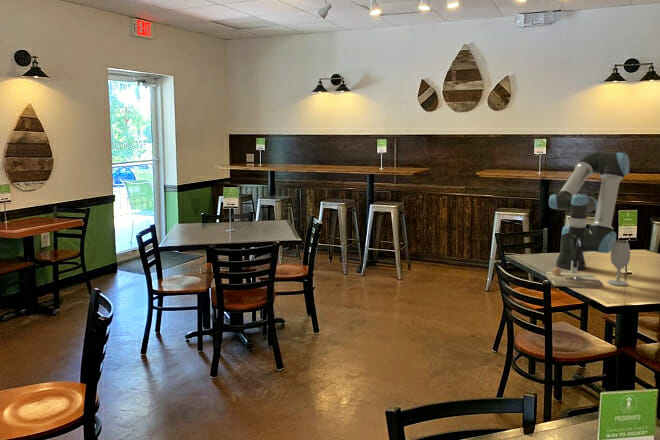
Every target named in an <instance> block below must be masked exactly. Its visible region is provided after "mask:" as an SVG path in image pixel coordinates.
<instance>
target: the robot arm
mask: <svg viewBox="0 0 660 440" xmlns="http://www.w3.org/2000/svg"><path fill="white" fill-rule="evenodd" d="M629 173H630V159H629V156H628V154H627V153H624V152H618V151H617V152H610V151H609V152H607V151H605V152H604V151H594V152H590V153H588V154H586V155H585V156H583V157H582V158H581V159H579V160H578V161H577V163H576V164H575V165H574V170H573V172H572V173H571V175H570V176H569V178H568V179H567V180H566V182H565V183H564V184H563V186H562V188H561V189H560V191H559V192H558V194H557V193H555V194H553V193H552V194H551V195H550V196H549V199H548V206H549V208H551V209H553V210H558V211H559V210H560V211H570V217H569V219H568V222H569V225H564V226H563V227H562V229H561V237H560V251H559V254H558V257H557V258H556V261H555V267H559V268H560V269H564V270H570V273H571V274H577V273H578V270H579V271H580V270H585V269H586V264H587V263H586V260H585V257H584V251H590V252H596V253H603V254H604V253H605V254H608V253H611V250H612V247H613V244H614V242H615V241H617V233H616V231H614V230H615V228H614V227H613V226H612V224H613V218H614V213H615V207H616V201H617V197H618V193H619V192H618V191H619V188H620V182H621V181H623V180H624V177H625V176H628V175H629ZM593 174H599V177H600V178H601V183H600V189H599V194H598V200H597V199H596V198H594V197H592V196H588V195H587V194H578V192H579V191H580V189H581V188H582V186H583V185H584V184H585V182H586V180H588V177H589V178H590V177H591V176H592V175H593ZM594 211H595V215H594V220H593V222H592V223H591V224H589V227H588V228H587V224H588V223H587V221H588V213H591V212H594Z"/></svg>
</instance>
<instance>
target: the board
mask: <svg viewBox="0 0 660 440" xmlns="http://www.w3.org/2000/svg"><path fill="white" fill-rule="evenodd" d="M545 274H546V275H545V277H546V278H547V280H549V281H550V283H551V284H552V285H553V286H555V287H570V288H571V287H573V288H587V289H589V288H592V289H603V288H604V287H603V286H604V283H603V282H602V281H601V280H600V279H598V278H597V277H596V276H595V275H594V274H593V273H583V272H582V273H579V272H577V274H571V272H562V271H561V273H560V274H559V275H555V274H553V271H546V273H545ZM574 277H580V278H581V280H582V281H575V280H573V278H574Z"/></svg>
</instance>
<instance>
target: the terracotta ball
mask: <svg viewBox="0 0 660 440" xmlns="http://www.w3.org/2000/svg"><path fill="white" fill-rule="evenodd" d="M561 269H562V268H560V267H557V266H555V267H554V268H553V269H552V272H553V274H555V275H559V274H560V273H561V272H562V270H561Z"/></svg>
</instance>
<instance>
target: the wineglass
mask: <svg viewBox="0 0 660 440" xmlns="http://www.w3.org/2000/svg"><path fill="white" fill-rule="evenodd" d="M630 260H631V248H630V243H629V242H628V241H625V240H624V241H623V240H616V241H615V242H614V244H613V247H612V250H611V251H610V262H611V264H612V265H613V266H614V267H615V268H616V270H617V271H616V279H609V280H607V283H608V284H610V285H613V286H620V287H621V286H622V287H623V286H624V287H626V286H628V285H629V284H628V282H627V281H623V280H620V278H621V270H622V269H623V268H624V269H625V267H627V266H629V263H630Z"/></svg>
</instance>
